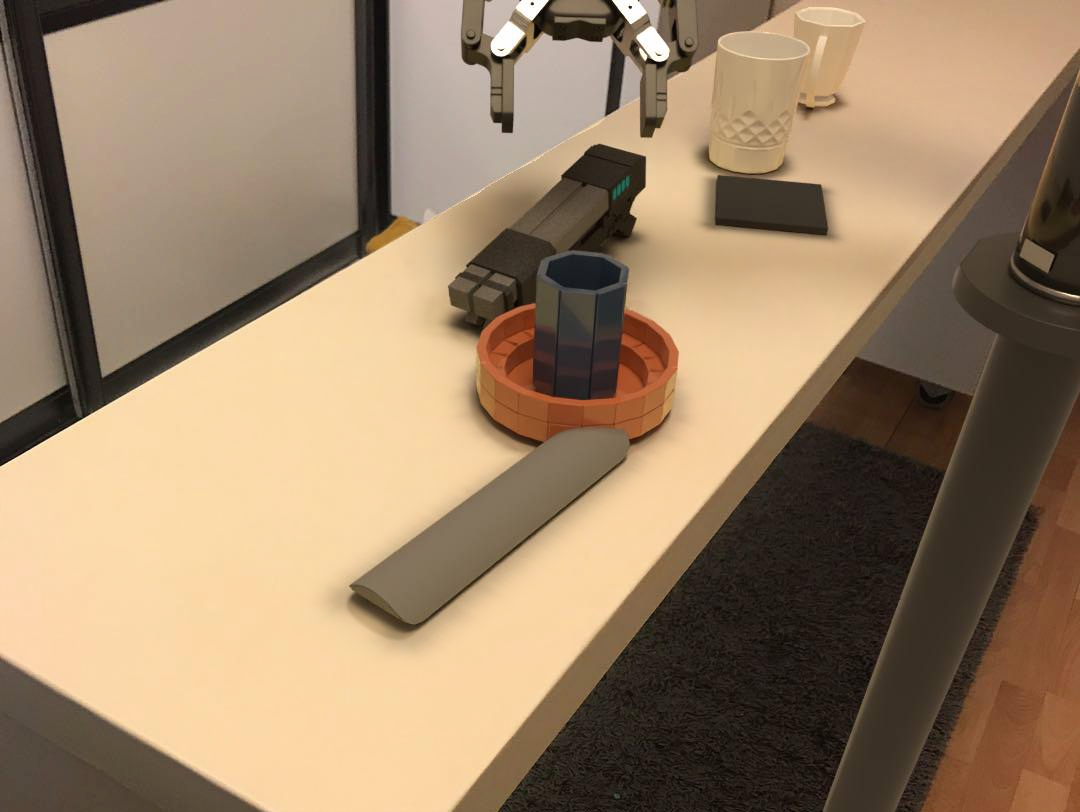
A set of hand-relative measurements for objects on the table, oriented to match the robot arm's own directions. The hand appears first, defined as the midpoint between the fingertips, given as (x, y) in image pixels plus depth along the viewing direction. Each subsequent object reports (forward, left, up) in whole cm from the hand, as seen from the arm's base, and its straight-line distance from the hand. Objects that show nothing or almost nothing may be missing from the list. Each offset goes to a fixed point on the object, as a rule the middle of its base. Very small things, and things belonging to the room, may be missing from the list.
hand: (578, 130), depth 64 cm
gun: (+2, -7, -14) cm, 16 cm away
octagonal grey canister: (-1, +8, -13) cm, 15 cm away
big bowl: (-1, +8, -14) cm, 16 cm away
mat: (-14, -24, -14) cm, 31 cm away
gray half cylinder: (+1, +21, -14) cm, 25 cm away
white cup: (-12, -34, -14) cm, 39 cm away
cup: (-19, -51, -14) cm, 56 cm away
